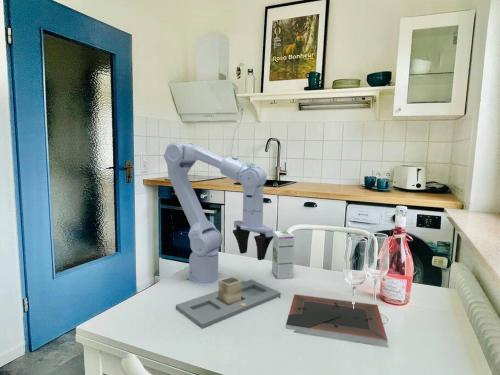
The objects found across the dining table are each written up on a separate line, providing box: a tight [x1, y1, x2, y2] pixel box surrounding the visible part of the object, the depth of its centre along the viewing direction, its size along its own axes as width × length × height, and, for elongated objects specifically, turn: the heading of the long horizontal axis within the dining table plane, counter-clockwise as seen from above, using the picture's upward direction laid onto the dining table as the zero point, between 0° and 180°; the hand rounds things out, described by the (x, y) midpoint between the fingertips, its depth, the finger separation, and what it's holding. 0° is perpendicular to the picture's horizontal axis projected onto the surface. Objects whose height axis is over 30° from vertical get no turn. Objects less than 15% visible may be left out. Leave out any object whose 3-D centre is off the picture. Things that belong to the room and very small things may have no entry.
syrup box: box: [271, 230, 295, 280], centre depth 106 cm, size 6×6×14 cm
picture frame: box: [285, 294, 388, 348], centre depth 79 cm, size 16×2×22 cm
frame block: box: [218, 275, 242, 306], centre depth 85 cm, size 4×4×6 cm
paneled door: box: [175, 279, 282, 330], centre depth 86 cm, size 12×26×2 cm, turn 132°
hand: (252, 256), depth 94 cm, fingers open, 7 cm apart
